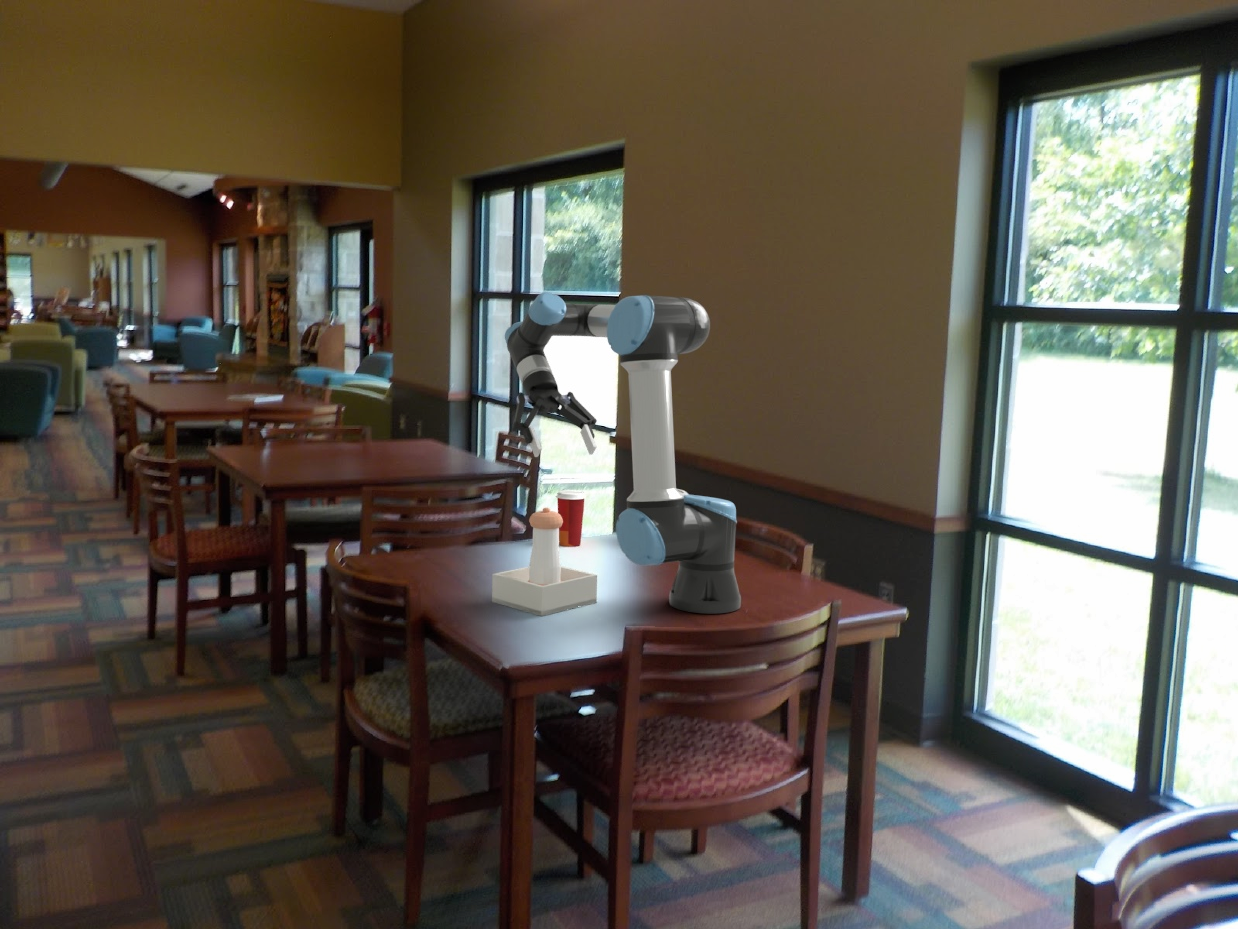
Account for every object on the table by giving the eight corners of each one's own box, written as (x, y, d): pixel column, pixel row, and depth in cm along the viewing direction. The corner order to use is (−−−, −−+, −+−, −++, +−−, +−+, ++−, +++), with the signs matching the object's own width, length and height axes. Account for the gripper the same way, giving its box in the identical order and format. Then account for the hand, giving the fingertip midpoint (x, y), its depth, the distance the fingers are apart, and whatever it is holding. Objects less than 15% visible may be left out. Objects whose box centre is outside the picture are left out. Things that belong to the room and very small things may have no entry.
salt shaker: (560, 602, 235) (562, 511, 232) (525, 601, 235) (527, 510, 232) (562, 593, 242) (565, 505, 239) (528, 592, 242) (530, 504, 240)
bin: (596, 602, 239) (597, 575, 239) (541, 616, 228) (542, 587, 227) (546, 589, 249) (547, 562, 249) (492, 601, 238) (492, 574, 237)
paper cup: (586, 542, 301) (587, 490, 299) (582, 548, 293) (583, 495, 292) (557, 540, 302) (558, 489, 300) (552, 546, 294) (553, 493, 292)
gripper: (579, 389, 270) (609, 460, 259) (482, 391, 257) (509, 464, 247) (590, 368, 265) (621, 439, 254) (492, 368, 252) (519, 443, 241)
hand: (566, 452), depth 250 cm, fingers open, 13 cm apart
